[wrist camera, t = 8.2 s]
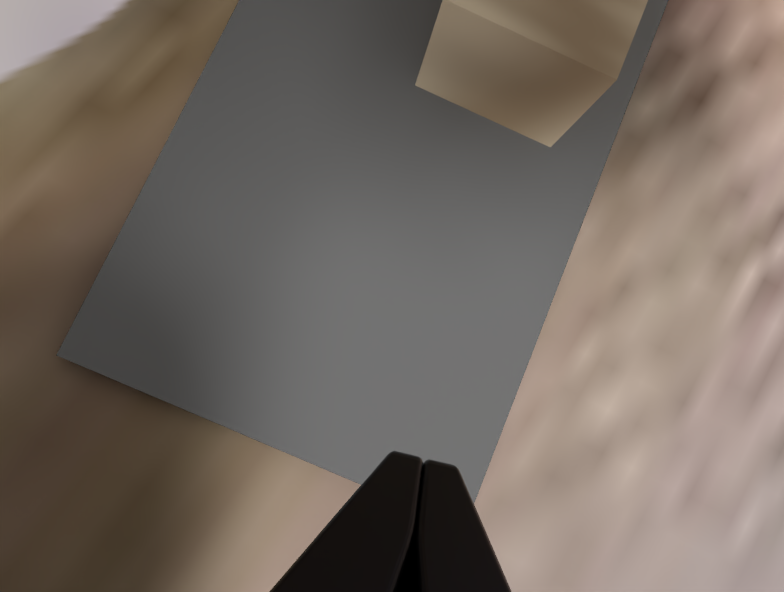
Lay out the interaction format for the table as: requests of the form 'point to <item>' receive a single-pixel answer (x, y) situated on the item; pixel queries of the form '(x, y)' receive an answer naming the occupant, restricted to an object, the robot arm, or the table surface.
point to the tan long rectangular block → (528, 59)
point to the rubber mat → (344, 243)
